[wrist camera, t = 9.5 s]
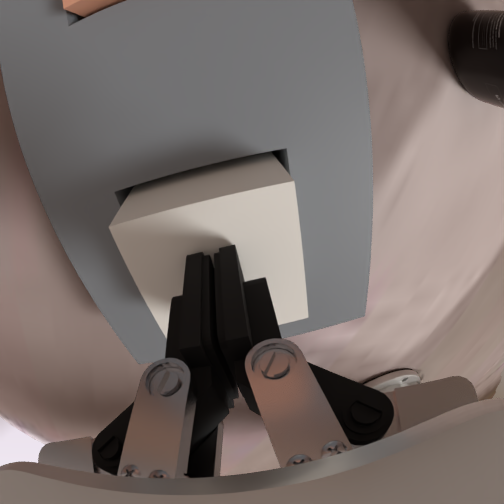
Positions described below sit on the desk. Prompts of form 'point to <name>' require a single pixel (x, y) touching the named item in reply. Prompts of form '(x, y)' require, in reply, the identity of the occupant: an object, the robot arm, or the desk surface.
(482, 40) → the supplement bottle
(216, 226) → the off-white key
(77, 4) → the terracotta key
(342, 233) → the key panel
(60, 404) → the desk surface
